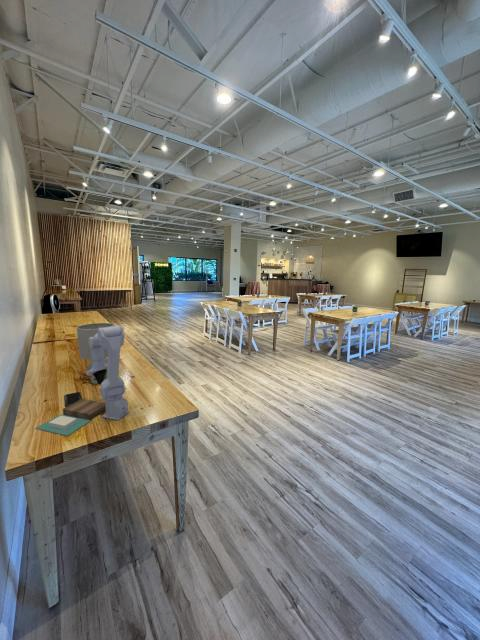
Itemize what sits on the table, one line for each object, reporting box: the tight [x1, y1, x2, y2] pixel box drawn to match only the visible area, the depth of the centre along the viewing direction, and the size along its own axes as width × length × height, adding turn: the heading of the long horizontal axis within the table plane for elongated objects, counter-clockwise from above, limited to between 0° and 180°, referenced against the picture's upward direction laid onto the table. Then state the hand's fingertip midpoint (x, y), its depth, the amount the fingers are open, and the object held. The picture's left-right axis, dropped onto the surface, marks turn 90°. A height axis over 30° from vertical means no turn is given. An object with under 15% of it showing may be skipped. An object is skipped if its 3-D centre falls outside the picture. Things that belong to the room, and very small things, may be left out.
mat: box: [35, 414, 92, 437], centre depth 119 cm, size 18×12×1 cm, turn 74°
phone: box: [63, 391, 83, 408], centre depth 142 cm, size 8×1×15 cm
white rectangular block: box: [49, 415, 77, 430], centre depth 118 cm, size 9×6×2 cm, turn 73°
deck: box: [62, 398, 106, 421], centre depth 130 cm, size 16×11×3 cm
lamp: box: [76, 322, 115, 385], centre depth 165 cm, size 20×20×35 cm
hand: (100, 383), depth 140 cm, fingers closed
